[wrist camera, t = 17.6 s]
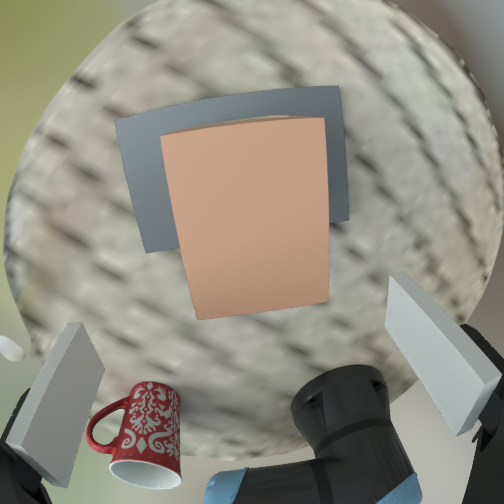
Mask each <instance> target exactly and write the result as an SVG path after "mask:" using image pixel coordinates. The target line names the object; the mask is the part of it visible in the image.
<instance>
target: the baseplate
mask: <svg viewBox="0 0 504 504" xmlns="http://www.w3.org/2000/svg"><path fill="white" fill-rule="evenodd" d="M270 115H289V116H301V117H321V118H324V122H325V136H326V152H327V172H328V199H329V223H334V222H340V221H347V220H349V205H348V183H347V166H346V151H345V139H344V128H343V118H342V108H341V99H340V91H339V86H315V87H299V88H286V89H275V90H265V91H257V92H249V93H241V94H234V95H227V96H221V97H215V98H209V99H203V100H198V101H193V102H188V103H183V104H178V105H173V106H169V107H164V108H160V109H156V110H152V111H148V112H144V113H140V114H136V115H132V116H129V117H125V118H121V119H118V120H115V121H114V122H115V128H116V133H117V138H118V143H119V148H120V153H121V158H122V162H123V167H124V171H125V176H126V180H127V184H128V188H129V192H130V197H131V201H132V205H133V208H134V212H135V216H136V220H137V224H138V227H139V231H140V234H141V238H142V242H143V245H144V248H145V252H146V253H151V252H157V251H163V250H169V249H174V248H180V244H179V240H178V235H177V230H176V225H175V220H174V215H173V210H172V204H171V199H170V194H169V188H168V182H167V177H166V171H165V165H164V159H163V153H162V146H161V140H160V136H162V135H165V134H168V133H171V132H174V131H177V130H180V129H184V128H190V127H196V126H201V125H207V124H213V123H219V122H225V121H232V120H239V119H246V118H253V117H261V116H270Z"/></svg>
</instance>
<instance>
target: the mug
mask: <svg viewBox="0 0 504 504" xmlns="http://www.w3.org/2000/svg"><path fill="white" fill-rule="evenodd" d="M118 409H125V413H124V417H123V420H122V424H121V428H120V431H119V435H118V437H115V438H114V440H113V441H112V442H111V443H109V444H107V445H102V444H99V443H97V442H96V441H95V440H94V438H93V435H92V432H93V428H94V426H95V425H96V424H97V422H98V421H99V420H101V419H102V418H104V417H105V416H107V415H108V414H110V413H112V412H114V411H116V410H118ZM86 438H87V442H88V444H89V445H90V447H91V448H92V449H93V450H95V451H97V452H99V453H103V454H112V455H113V459H112V461H111V463H110V464H109V470H110V471H111V473H112V474H113V475H114V476H116V477H117V478H118V479H120V480H122V481H124V482H127V483H129V484H132V485H135V486H139V487H143V488H149V489H170V488H174V487H177V486H179V485H180V484H181V483H182V476H181V471H180V400H179V396H178V395H177V393H176V392H175V391H174V390H173V389H171V388H170V387H168V386H166V385H163V384H160V383H155V382H142V383H139V384H137V385H135V386H134V387H133V388H132V389H131V392H130V395H129V396H128V397H126V398H123V399H121V400H119V401H116V402H114V403H112V404H110V405H108V406H106V407H105V408H103V409H102V410H100V411H99V412H97V413H96V414H95V415H94V416H93V417H92V419H91V420H90V422H89V424H88V427H87V431H86Z"/></svg>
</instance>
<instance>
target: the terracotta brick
mask: <svg viewBox="0 0 504 504" xmlns="http://www.w3.org/2000/svg"><path fill="white" fill-rule="evenodd" d="M160 140H161V146H162V153H163V159H164V165H165V171H166V177H167V182H168V188H169V194H170V199H171V204H172V210H173V215H174V220H175V225H176V230H177V235H178V240H179V244H180V249H181V254H182V258H183V263H184V267H185V272H186V276H187V281H188V285H189V289H190V293H191V297H192V302H193V306H194V310H195V314H196V318H197V320H203V319H212V318H220V317H228V316H236V315H244V314H251V313H259V312H266V311H273V310H279V309H286V308H293V307H299V306H305V305H311V304H317V303H323V302H328V300H329V199H328V172H327V152H326V136H325V122H324V118H321V117H301V116H285V117H272V118H261V119H251V120H241V121H233V122H225V123H217V124H210V125H203V126H197V127H190V128H184V129H180V130H177V131H174V132H171V133H168V134H165V135H162V136H160Z"/></svg>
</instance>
